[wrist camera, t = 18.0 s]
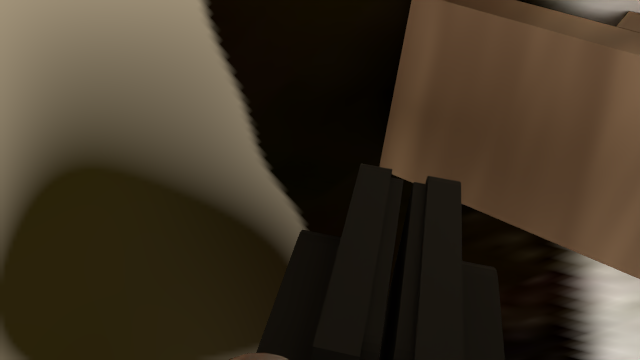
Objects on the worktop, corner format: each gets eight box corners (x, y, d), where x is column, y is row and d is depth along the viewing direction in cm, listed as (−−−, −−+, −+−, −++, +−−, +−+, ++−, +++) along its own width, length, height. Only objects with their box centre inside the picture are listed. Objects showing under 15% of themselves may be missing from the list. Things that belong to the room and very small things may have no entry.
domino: (379, 168, 17) (784, 340, 13) (413, -8, 14) (948, 141, 10) (403, 146, 18) (782, 297, 14) (439, -21, 15) (928, 109, 11)
